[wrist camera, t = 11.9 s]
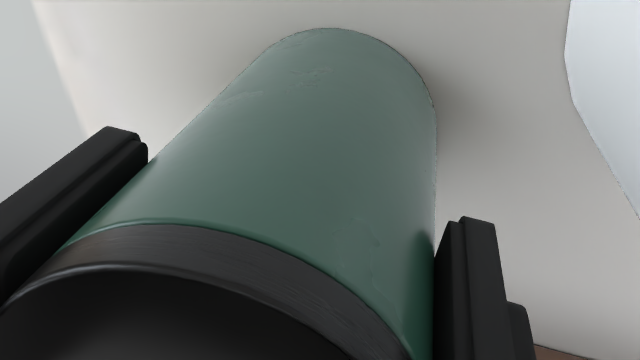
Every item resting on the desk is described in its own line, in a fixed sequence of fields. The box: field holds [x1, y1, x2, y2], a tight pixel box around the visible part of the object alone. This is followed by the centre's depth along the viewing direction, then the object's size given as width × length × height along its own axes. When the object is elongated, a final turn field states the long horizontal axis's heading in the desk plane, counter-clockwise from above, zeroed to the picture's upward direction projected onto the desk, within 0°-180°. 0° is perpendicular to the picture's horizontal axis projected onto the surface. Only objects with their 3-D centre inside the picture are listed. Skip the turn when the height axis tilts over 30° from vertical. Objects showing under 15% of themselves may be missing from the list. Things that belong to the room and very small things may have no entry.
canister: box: [0, 28, 437, 360], centre depth 10 cm, size 6×6×10 cm
